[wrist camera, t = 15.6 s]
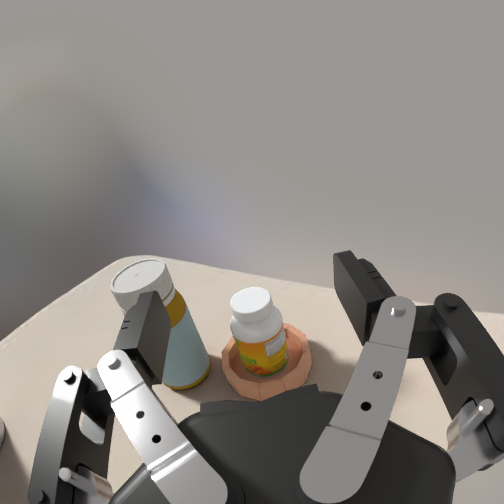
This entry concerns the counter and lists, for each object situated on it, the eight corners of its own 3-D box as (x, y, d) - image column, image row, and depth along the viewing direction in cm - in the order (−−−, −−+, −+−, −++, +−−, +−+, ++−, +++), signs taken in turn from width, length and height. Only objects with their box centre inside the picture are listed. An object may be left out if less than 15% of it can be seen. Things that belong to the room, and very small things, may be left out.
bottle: (153, 388, 32) (94, 296, 24) (171, 349, 38) (127, 258, 30) (203, 395, 30) (150, 295, 23) (218, 351, 36) (179, 253, 29)
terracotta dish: (294, 409, 26) (292, 397, 25) (212, 387, 31) (206, 374, 30) (320, 342, 34) (319, 328, 33) (248, 330, 38) (244, 317, 37)
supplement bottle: (234, 363, 33) (212, 302, 28) (267, 339, 35) (253, 276, 31) (264, 388, 29) (246, 326, 24) (299, 359, 31) (290, 294, 27)
